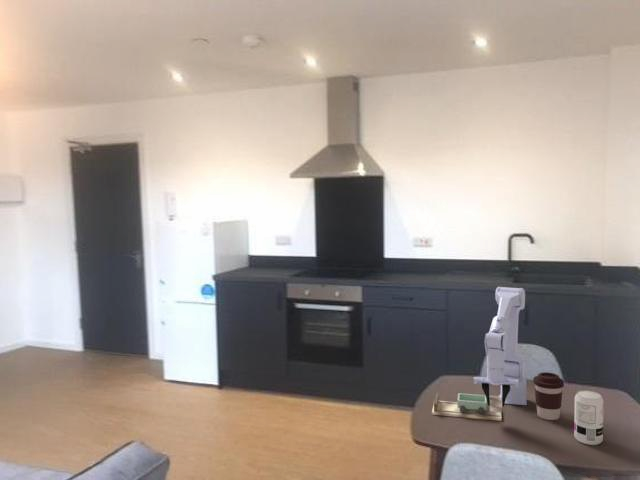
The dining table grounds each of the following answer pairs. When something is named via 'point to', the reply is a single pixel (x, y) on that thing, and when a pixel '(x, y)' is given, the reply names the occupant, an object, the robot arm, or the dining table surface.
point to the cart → (473, 402)
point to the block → (496, 403)
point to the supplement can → (588, 417)
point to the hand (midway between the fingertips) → (495, 405)
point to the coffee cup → (548, 395)
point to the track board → (453, 410)
